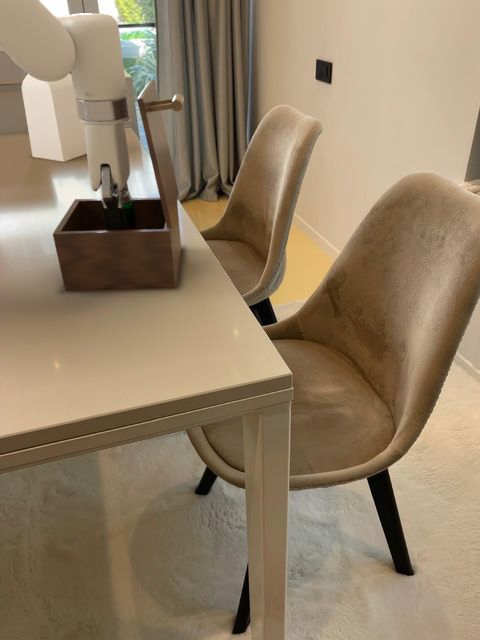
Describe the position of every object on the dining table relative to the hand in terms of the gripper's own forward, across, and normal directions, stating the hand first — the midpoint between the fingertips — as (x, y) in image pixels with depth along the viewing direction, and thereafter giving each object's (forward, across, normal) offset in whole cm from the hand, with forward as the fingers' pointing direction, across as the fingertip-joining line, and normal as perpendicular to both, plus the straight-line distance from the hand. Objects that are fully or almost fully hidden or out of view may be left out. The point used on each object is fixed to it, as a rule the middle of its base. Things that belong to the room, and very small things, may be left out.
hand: (120, 223), depth 94 cm
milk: (+8, -77, -29) cm, 83 cm away
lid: (-11, 0, +8) cm, 14 cm away
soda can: (+7, 0, 0) cm, 7 cm away
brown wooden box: (+8, 0, 0) cm, 8 cm away
